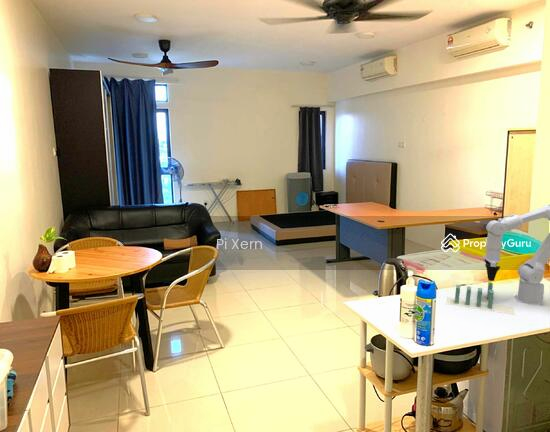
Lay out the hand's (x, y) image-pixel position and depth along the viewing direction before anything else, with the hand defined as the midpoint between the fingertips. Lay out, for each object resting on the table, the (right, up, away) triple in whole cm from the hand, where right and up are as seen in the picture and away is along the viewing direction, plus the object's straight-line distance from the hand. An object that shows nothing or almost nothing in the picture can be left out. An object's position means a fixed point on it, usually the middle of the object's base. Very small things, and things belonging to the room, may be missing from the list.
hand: (490, 277), depth 184 cm
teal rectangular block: (-8, -11, -5) cm, 14 cm away
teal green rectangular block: (+1, -10, +2) cm, 10 cm away
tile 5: (-16, -10, -2) cm, 19 cm away
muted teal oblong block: (-12, -11, -4) cm, 16 cm away
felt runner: (-8, -11, -6) cm, 15 cm away
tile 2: (-4, -11, -7) cm, 14 cm away
